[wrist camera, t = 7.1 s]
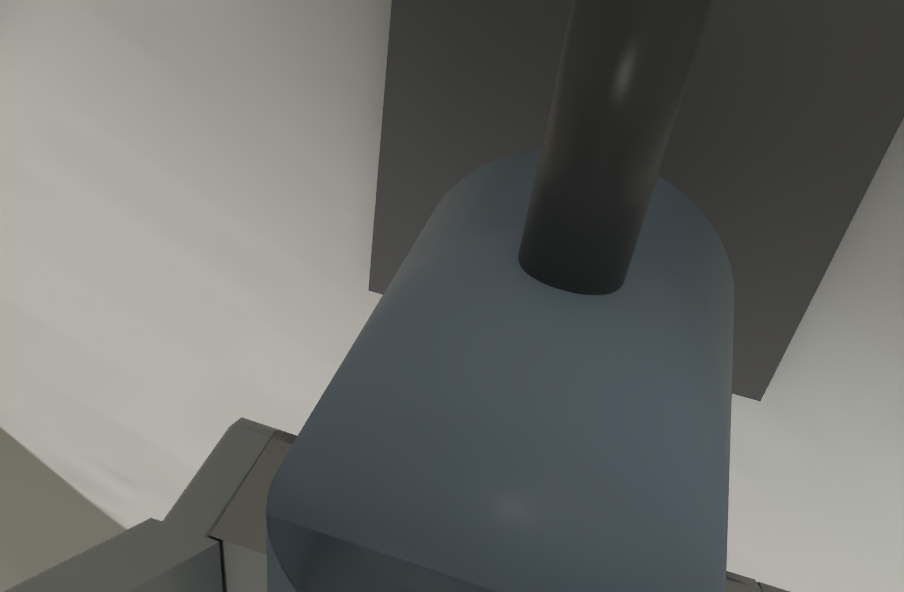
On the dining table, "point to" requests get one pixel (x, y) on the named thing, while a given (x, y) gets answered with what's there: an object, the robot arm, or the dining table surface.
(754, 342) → the rubber mat
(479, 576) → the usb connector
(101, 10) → the dining table surface
